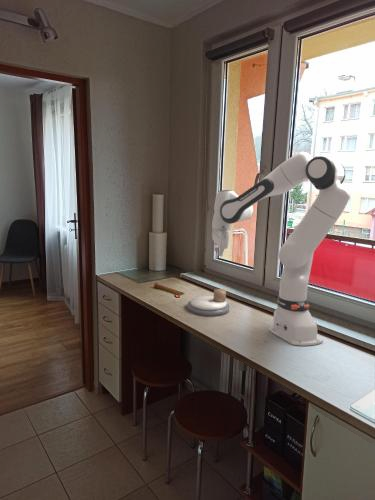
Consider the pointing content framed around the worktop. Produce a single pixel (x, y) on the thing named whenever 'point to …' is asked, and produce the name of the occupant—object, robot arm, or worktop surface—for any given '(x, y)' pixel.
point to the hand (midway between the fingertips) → (218, 253)
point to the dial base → (208, 311)
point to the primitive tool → (168, 289)
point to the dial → (210, 301)
